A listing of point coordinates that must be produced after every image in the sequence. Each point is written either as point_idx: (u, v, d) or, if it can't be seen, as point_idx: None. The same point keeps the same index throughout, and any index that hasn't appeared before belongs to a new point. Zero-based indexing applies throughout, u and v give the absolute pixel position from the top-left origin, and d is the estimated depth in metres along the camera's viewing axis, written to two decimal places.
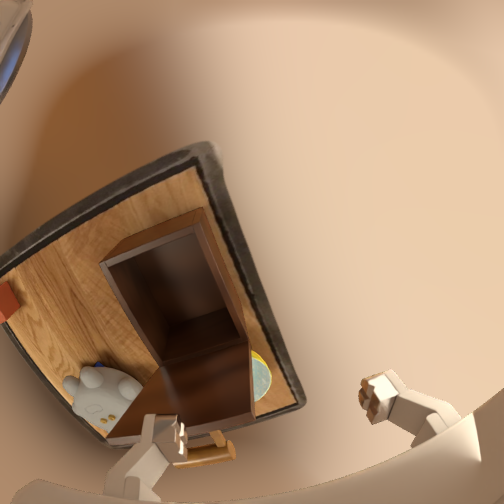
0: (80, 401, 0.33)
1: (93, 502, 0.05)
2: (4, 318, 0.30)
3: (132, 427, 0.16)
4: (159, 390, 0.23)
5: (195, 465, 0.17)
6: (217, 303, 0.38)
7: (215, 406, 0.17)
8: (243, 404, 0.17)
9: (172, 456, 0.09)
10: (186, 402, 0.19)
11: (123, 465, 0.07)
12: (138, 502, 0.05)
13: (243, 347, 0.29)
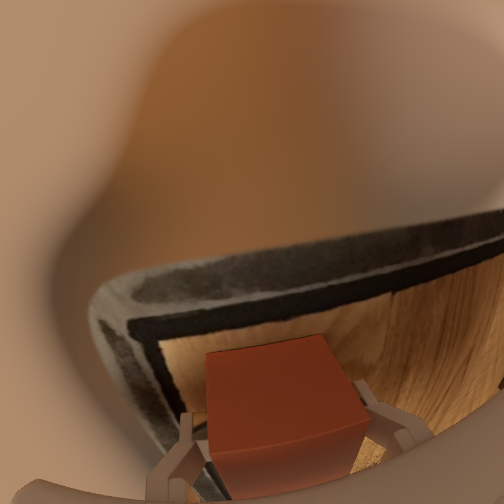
0: None
1: (93, 503, 0.05)
2: (345, 474, 0.08)
3: None
4: None
5: None
6: None
7: None
8: None
9: None
10: None
11: (164, 467, 0.07)
12: (138, 502, 0.05)
13: None
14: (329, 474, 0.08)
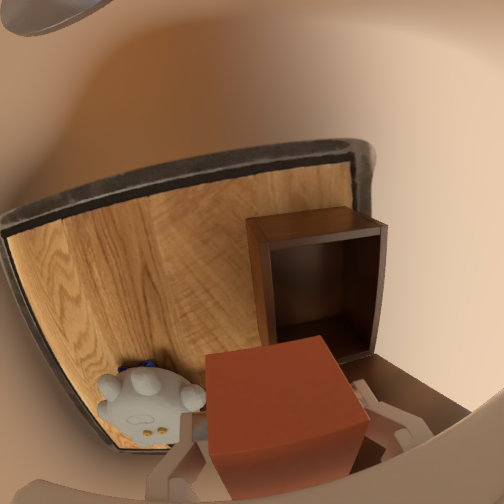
0: (123, 409, 0.28)
1: (93, 503, 0.05)
2: (344, 475, 0.08)
3: None
4: None
5: None
6: (325, 311, 0.34)
7: (430, 416, 0.14)
8: (457, 409, 0.13)
9: None
10: None
11: (164, 467, 0.07)
12: (138, 502, 0.05)
13: (380, 360, 0.25)
14: (329, 475, 0.08)
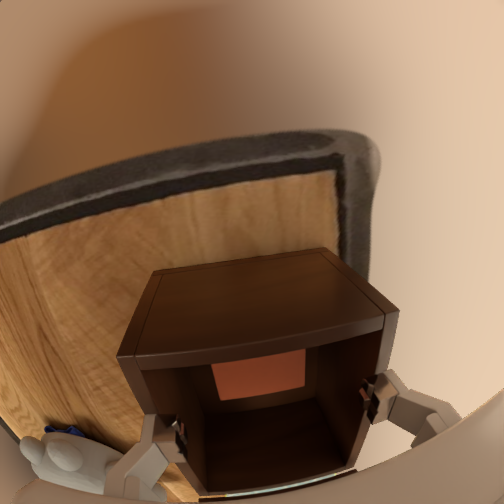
0: (46, 477, 0.15)
1: (92, 502, 0.05)
2: (301, 381, 0.15)
3: None
4: None
5: None
6: (292, 395, 0.22)
7: None
8: None
9: (172, 456, 0.09)
10: None
11: (123, 465, 0.07)
12: (138, 502, 0.05)
13: None
14: (288, 375, 0.15)
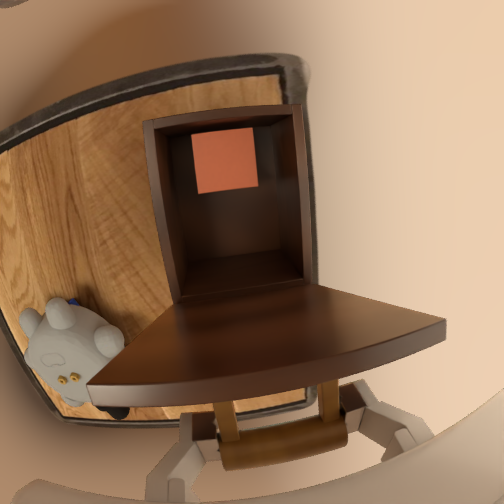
0: (37, 345, 0.23)
1: (93, 503, 0.05)
2: (255, 181, 0.23)
3: (159, 366, 0.08)
4: (194, 320, 0.14)
5: (269, 463, 0.09)
6: (260, 243, 0.30)
7: (358, 326, 0.09)
8: (415, 316, 0.09)
9: (210, 454, 0.09)
10: (277, 329, 0.11)
11: (164, 467, 0.07)
12: (138, 502, 0.05)
13: (314, 286, 0.21)
14: (245, 173, 0.23)
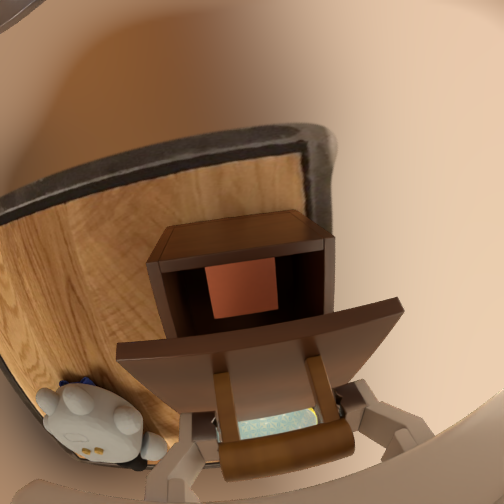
0: (58, 425, 0.22)
1: (92, 503, 0.05)
2: (275, 304, 0.21)
3: None
4: None
5: (270, 463, 0.08)
6: None
7: None
8: None
9: (210, 454, 0.09)
10: None
11: (164, 467, 0.07)
12: (138, 502, 0.05)
13: None
14: (264, 298, 0.21)
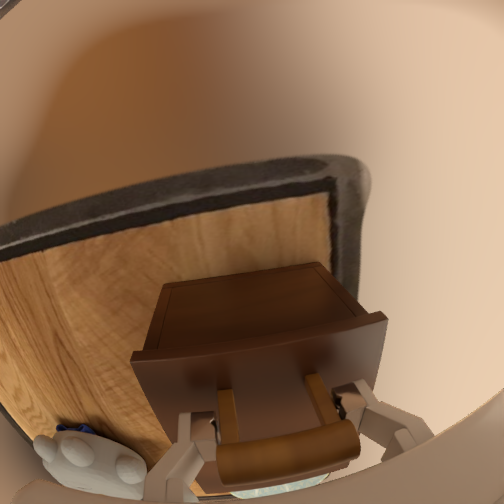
0: (59, 473, 0.17)
1: (92, 502, 0.05)
2: None
3: None
4: None
5: (269, 457, 0.07)
6: None
7: None
8: None
9: (209, 454, 0.09)
10: None
11: (162, 467, 0.07)
12: (138, 502, 0.05)
13: None
14: None
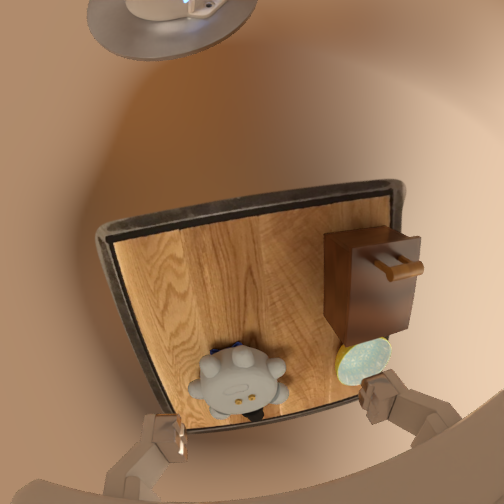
0: (224, 382, 0.40)
1: (93, 502, 0.05)
2: None
3: None
4: None
5: (403, 266, 0.30)
6: None
7: None
8: None
9: (172, 456, 0.09)
10: None
11: (123, 465, 0.07)
12: (138, 502, 0.05)
13: None
14: None
